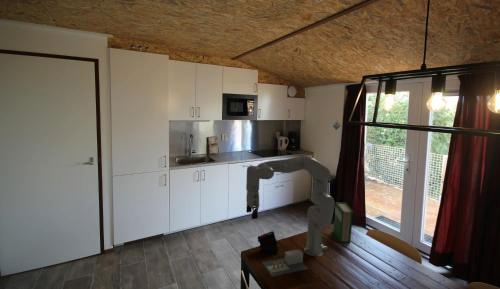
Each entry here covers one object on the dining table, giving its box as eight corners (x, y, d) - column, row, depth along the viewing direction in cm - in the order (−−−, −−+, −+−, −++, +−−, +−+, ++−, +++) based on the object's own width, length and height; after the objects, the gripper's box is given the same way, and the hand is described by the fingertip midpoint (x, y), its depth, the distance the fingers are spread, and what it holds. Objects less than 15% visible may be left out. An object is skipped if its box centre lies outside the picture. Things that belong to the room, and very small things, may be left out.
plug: (307, 256, 162) (307, 248, 161) (311, 260, 158) (311, 251, 157) (284, 261, 157) (285, 251, 156) (288, 265, 153) (288, 255, 152)
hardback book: (350, 243, 183) (353, 211, 180) (339, 242, 184) (342, 210, 181) (343, 231, 201) (345, 202, 198) (333, 231, 201) (335, 202, 198)
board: (296, 257, 163) (296, 250, 162) (308, 270, 150) (309, 263, 149) (261, 264, 155) (262, 256, 154) (271, 278, 142) (271, 270, 141)
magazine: (282, 253, 164) (273, 233, 163) (263, 260, 166) (254, 240, 164) (282, 250, 168) (273, 230, 167) (263, 257, 169) (254, 237, 168)
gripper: (264, 191, 141) (263, 220, 143) (253, 182, 157) (252, 209, 160) (251, 192, 139) (250, 222, 141) (242, 183, 155) (241, 210, 157)
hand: (251, 215), depth 150 cm, fingers open, 9 cm apart
